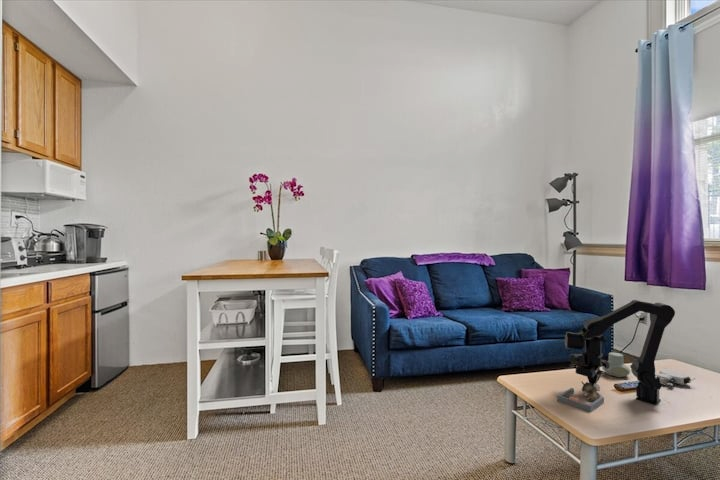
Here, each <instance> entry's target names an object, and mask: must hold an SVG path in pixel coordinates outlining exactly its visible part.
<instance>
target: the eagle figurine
mask: <svg viewBox="0 0 720 480" xmlns="http://www.w3.org/2000/svg"><path fill="white" fill-rule="evenodd" d="M581 384H582V388H581V391H582V392H585V393H584V395H583V397H587V396H588V395H589V396H588V398H587V399H586V400H587V401H588V402H590V403H593V402H594V401H595V400H597V399H598V398H600V397H601V395H600V393H599V392H600V391H601V387H600V385H599V384H598V383H594V386H593V385H592V383H589V381H587V382H585V383H584V382H583V381H582V380H581Z"/></svg>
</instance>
